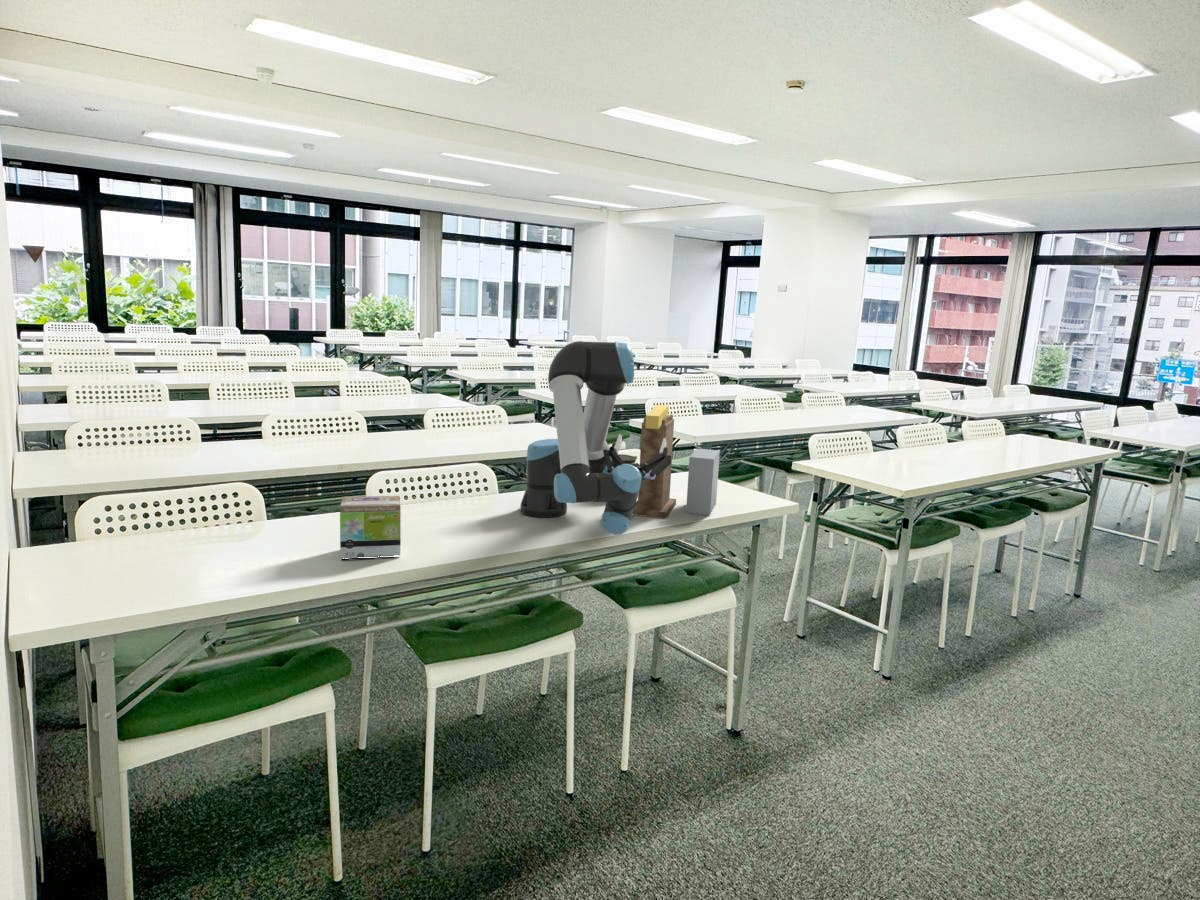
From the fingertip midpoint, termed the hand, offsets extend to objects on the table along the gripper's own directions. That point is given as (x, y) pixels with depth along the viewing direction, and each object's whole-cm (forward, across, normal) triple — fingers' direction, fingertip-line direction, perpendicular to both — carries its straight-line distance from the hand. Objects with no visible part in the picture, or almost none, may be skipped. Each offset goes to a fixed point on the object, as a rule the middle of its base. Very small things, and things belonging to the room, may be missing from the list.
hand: (642, 439), depth 222 cm
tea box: (-57, -61, +1) cm, 84 cm away
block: (+19, 0, -8) cm, 20 cm away
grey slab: (+13, +15, -40) cm, 44 cm away
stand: (+6, 0, -36) cm, 36 cm away
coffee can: (+17, -15, -42) cm, 48 cm away
